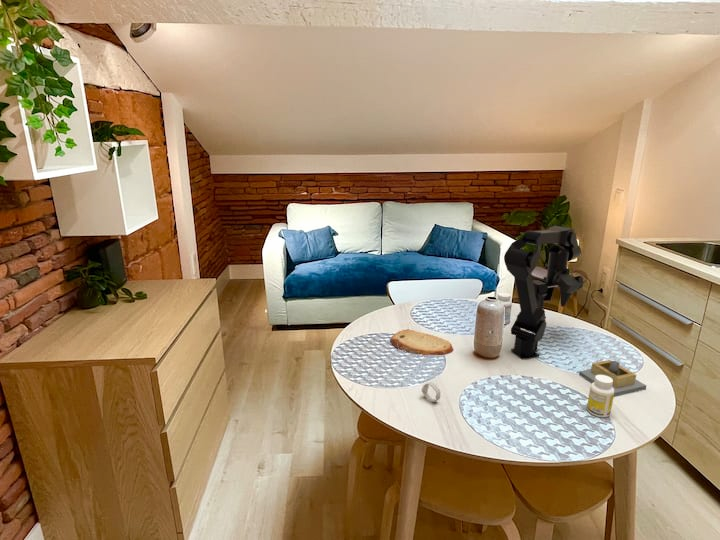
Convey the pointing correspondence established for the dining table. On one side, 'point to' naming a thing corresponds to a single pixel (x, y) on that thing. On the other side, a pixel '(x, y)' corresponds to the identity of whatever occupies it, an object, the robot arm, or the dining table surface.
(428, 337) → the bread slice
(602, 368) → the wooden tray box
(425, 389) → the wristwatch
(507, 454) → the dining table surface
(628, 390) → the keeper plate
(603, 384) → the supplement bottle
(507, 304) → the pill bottle
